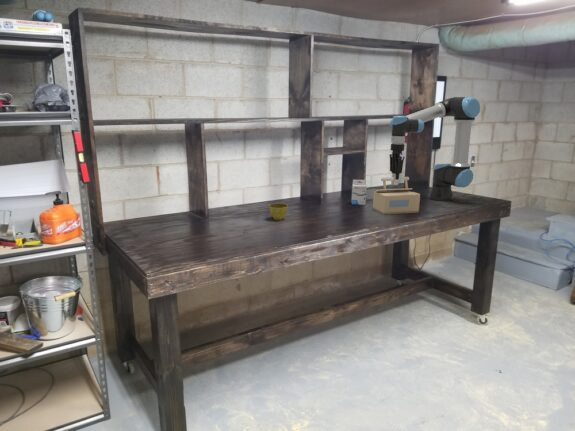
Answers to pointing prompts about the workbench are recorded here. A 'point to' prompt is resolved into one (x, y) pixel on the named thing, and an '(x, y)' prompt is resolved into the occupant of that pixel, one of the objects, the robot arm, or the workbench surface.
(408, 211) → the carton
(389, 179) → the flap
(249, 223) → the workbench surface
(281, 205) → the flower pot
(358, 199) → the ink box
